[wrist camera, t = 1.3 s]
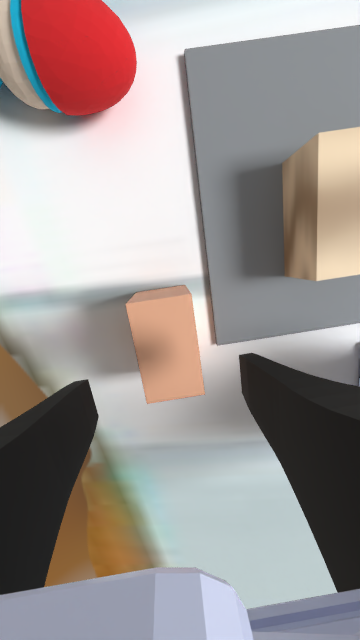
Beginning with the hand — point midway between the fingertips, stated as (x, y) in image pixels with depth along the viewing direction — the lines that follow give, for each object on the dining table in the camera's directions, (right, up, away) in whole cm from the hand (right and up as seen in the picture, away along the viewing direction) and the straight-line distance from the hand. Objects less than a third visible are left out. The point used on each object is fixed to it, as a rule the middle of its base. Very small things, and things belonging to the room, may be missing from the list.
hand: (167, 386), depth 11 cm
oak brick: (+11, +11, +6) cm, 17 cm away
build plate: (+10, +12, +7) cm, 17 cm away
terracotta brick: (-1, +2, +9) cm, 9 cm away
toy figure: (-9, +19, +4) cm, 21 cm away
